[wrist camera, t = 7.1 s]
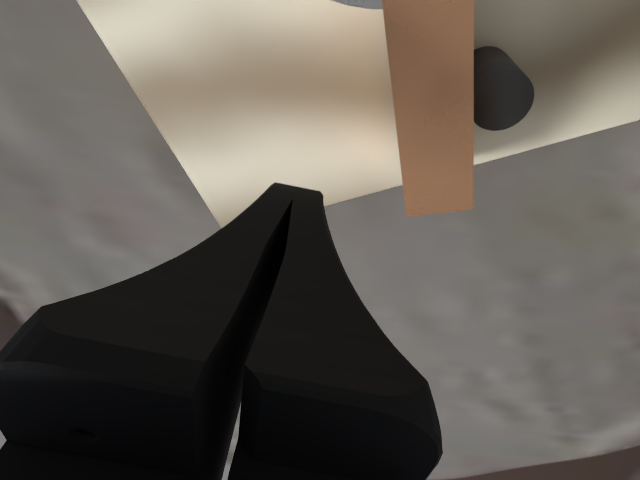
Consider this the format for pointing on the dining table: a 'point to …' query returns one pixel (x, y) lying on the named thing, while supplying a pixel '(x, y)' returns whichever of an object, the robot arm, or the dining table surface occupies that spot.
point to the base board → (355, 86)
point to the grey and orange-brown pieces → (432, 99)
